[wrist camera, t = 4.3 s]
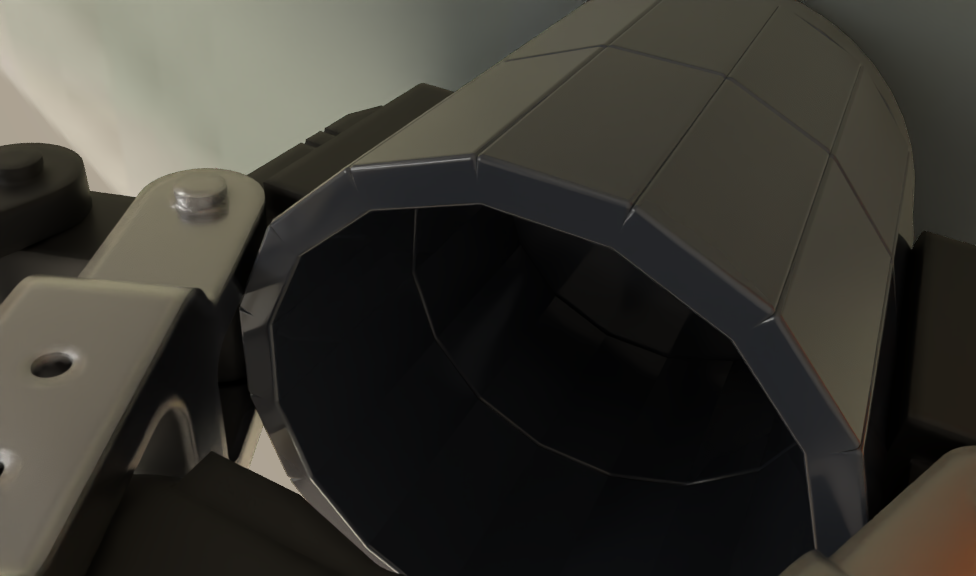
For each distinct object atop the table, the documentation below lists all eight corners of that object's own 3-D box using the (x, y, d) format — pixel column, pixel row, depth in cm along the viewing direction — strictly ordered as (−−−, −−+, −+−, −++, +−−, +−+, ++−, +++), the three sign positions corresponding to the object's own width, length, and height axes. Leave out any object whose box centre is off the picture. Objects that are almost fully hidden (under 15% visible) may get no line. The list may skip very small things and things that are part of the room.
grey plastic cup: (485, 283, 14) (262, 533, 10) (525, -68, 11) (208, 69, 6) (824, 409, 12) (741, 784, 8) (1001, 35, 9) (1027, 329, 5)
